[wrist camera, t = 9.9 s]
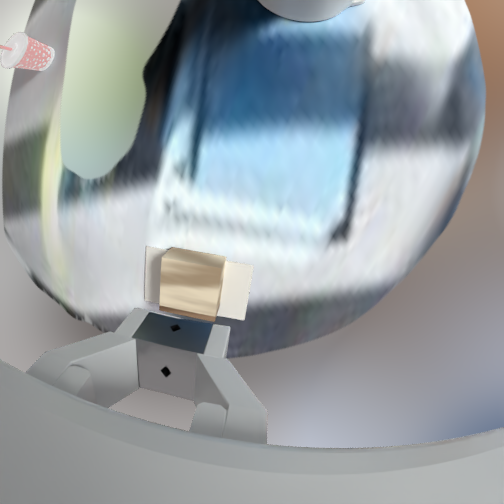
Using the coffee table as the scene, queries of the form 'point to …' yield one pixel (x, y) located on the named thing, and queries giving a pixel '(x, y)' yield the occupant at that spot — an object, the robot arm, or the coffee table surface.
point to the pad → (232, 288)
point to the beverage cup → (26, 53)
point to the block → (191, 283)
